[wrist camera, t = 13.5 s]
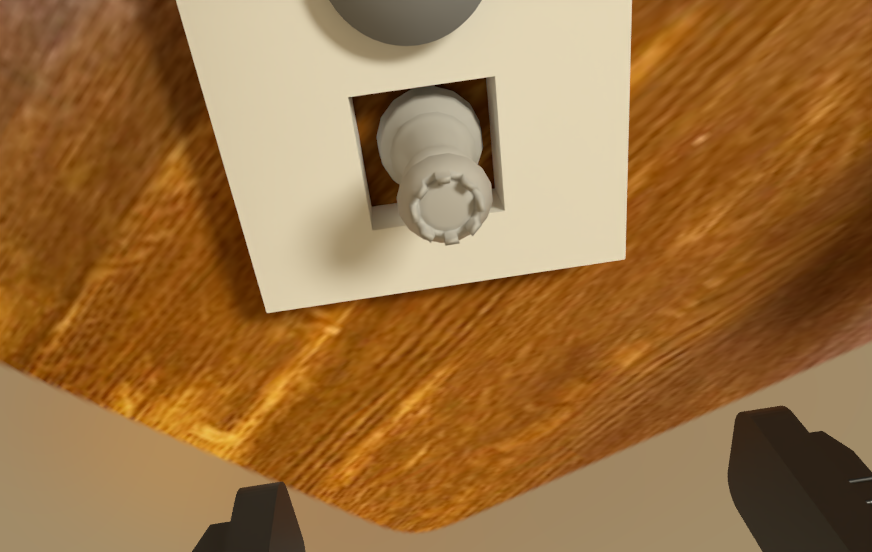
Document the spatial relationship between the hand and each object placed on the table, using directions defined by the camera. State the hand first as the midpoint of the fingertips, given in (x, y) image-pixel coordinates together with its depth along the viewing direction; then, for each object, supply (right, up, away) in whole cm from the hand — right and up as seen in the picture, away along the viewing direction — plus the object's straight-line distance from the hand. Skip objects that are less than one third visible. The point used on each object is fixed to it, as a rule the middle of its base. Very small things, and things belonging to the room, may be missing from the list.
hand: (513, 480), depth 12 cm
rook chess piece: (-2, +10, +17) cm, 20 cm away
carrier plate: (-2, +12, +16) cm, 20 cm away
